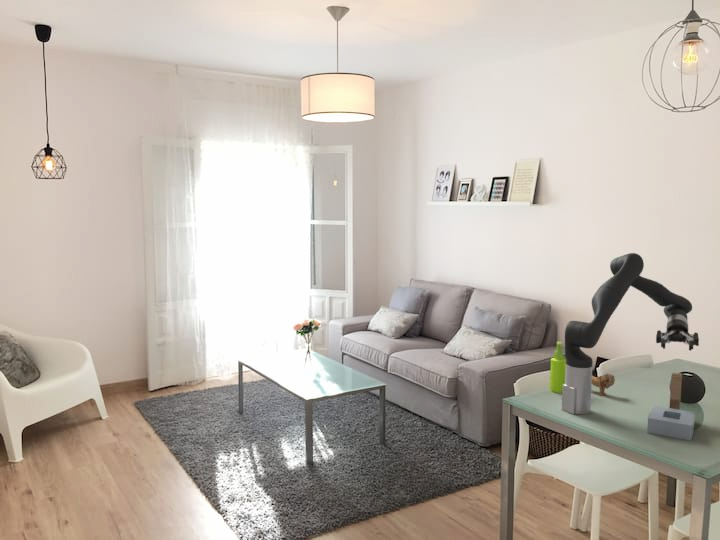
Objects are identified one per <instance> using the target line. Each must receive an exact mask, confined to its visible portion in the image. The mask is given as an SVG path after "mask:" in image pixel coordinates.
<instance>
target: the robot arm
mask: <svg viewBox="0 0 720 540" xmlns="http://www.w3.org/2000/svg"><path fill="white" fill-rule="evenodd" d="M644 265H645V264H644V259H643V257H642V256H641V255H640V254H638V253H635V252H632V253H631V252H629V253H627V254H624V255H621V256H619V257H616V258H614V259H612V260H611V261H610V265H609V268H610V271H611V274H612V276H611V277H610V278H609V279H607V280H606V281H605V282H603V283H602V284H601V285H600V286H599V287H598V288H597V290H596V292H595V293H594V294H593V297H592V298H591V308H592V311H593V314H594V317H593V319H592V321H591V322H586V321H579V320H570V321H569V322H568V323H567V324H566V327H565V330H564V359H566V370H565V384H563V390H562V393H561V396H562V397H561V410H563V411H565V412H567V413H570V414H572V415H587V414H589V413H591V405H592V401H591V400H592V399H591V398H592V386H593V385H592V376H593V362H594V361H593V358H592V357H591V356H590V355H588V354H586V353H585V352H584V351H583V350H582V349H581V348H583V349H592V348H594V347H595V346H596V345H597V343H598V342H599V341H600V338H601V336H602V333H603V332H604V331H605V328H606V325H607V324H608V322H609V320H610V318H611V317H612V315H613V314H614V313H615V311H616V309H617V308H618V306H619V305H620V303H621V301H622V300H623V298H624V296H625V295H626V293H627V292H628V290H629V289H630V287H632V288H634V289H636V290H637V291H639V292H641V293H643V294H644V295H646V296H647V297H649V298H650V299H651V300H652V301H653V302H654V303H656V304H657V305H658V306H659V307H664V308H663V313H664V315H665V316H666V318H667V321H666V331H665V332H662V330H656V331H657V332H656V336H655V343H656V344H660V347H661V348H662V349H663V350H664V349H665V350H666V344H670V343H672V342H673V343H674V342H677V343H683V344H684V345H686V346H687V345H688V351H692V350H693V349H694V346H697V347H699V345H700V344H699V341H700V338H699V332H693V334H691V333H689V322H688V315H687V314H689V313H691V311H692V310H693V305H692V303H691V301H690V300H689V299H687V298H686V297H684V296H682V295H679V294H677V293H674V292H672V291H671V290H670V289H668V288H667V287H665V286H664V285H663V284H661V283H660V282H658V281H656V280H653V279H649V278H647V277H643V276H642V272H643V270H644Z"/></svg>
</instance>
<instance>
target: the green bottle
mask: <svg viewBox="0 0 720 540" xmlns="http://www.w3.org/2000/svg"><path fill="white" fill-rule="evenodd" d="M562 343H563V342H562V341H556V349H555V350H554V357H552V358H550V376H549V377H550V378H549V391H550V390H551V391H553V392H552V393H555V392H556V394H557V393H558V394H562V390H563V384H565V370H566V358H564V351H563V350H562ZM551 391H550V392H551Z"/></svg>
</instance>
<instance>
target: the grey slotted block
mask: <svg viewBox="0 0 720 540" xmlns="http://www.w3.org/2000/svg"><path fill="white" fill-rule="evenodd" d="M695 417H696V411H690V410H685V409H680V410H678V409H672V408H669V407H665V406H658V405H655V404H654V405H653V406H652V407H651V410H650V412H649V415H648V417H647V427H646V428H647V432H646V433H647V434H648V433H649V434H653V435H659V436H665V437H670V438H676V439H680V440H686V441H693V440H692V439H693V434H694V429H695Z"/></svg>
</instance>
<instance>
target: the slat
mask: <svg viewBox="0 0 720 540" xmlns="http://www.w3.org/2000/svg"><path fill="white" fill-rule="evenodd" d="M670 377H671V379H670V392H669V407H668V408H672V409H678V410H681V398H682V397H681V396H682V381H683V373H678V372H672V373H671V376H670Z"/></svg>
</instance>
